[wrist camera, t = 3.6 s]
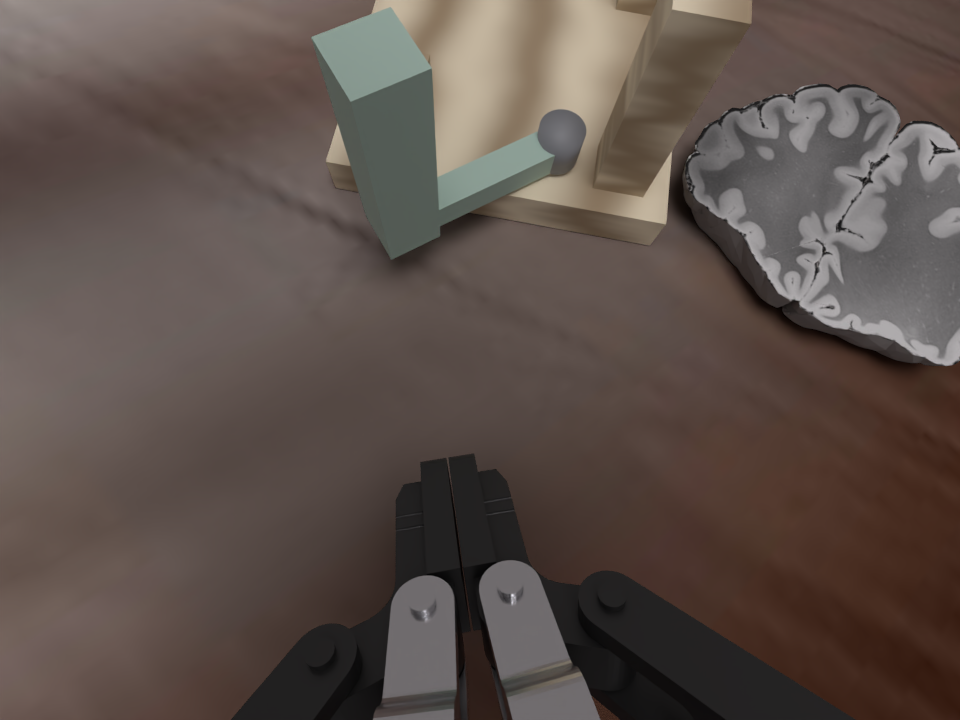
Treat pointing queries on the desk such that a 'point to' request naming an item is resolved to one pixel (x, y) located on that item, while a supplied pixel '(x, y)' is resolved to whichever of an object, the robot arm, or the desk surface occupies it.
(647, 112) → the stool seat
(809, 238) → the brain slice
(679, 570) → the desk surface
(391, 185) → the hinged leg
